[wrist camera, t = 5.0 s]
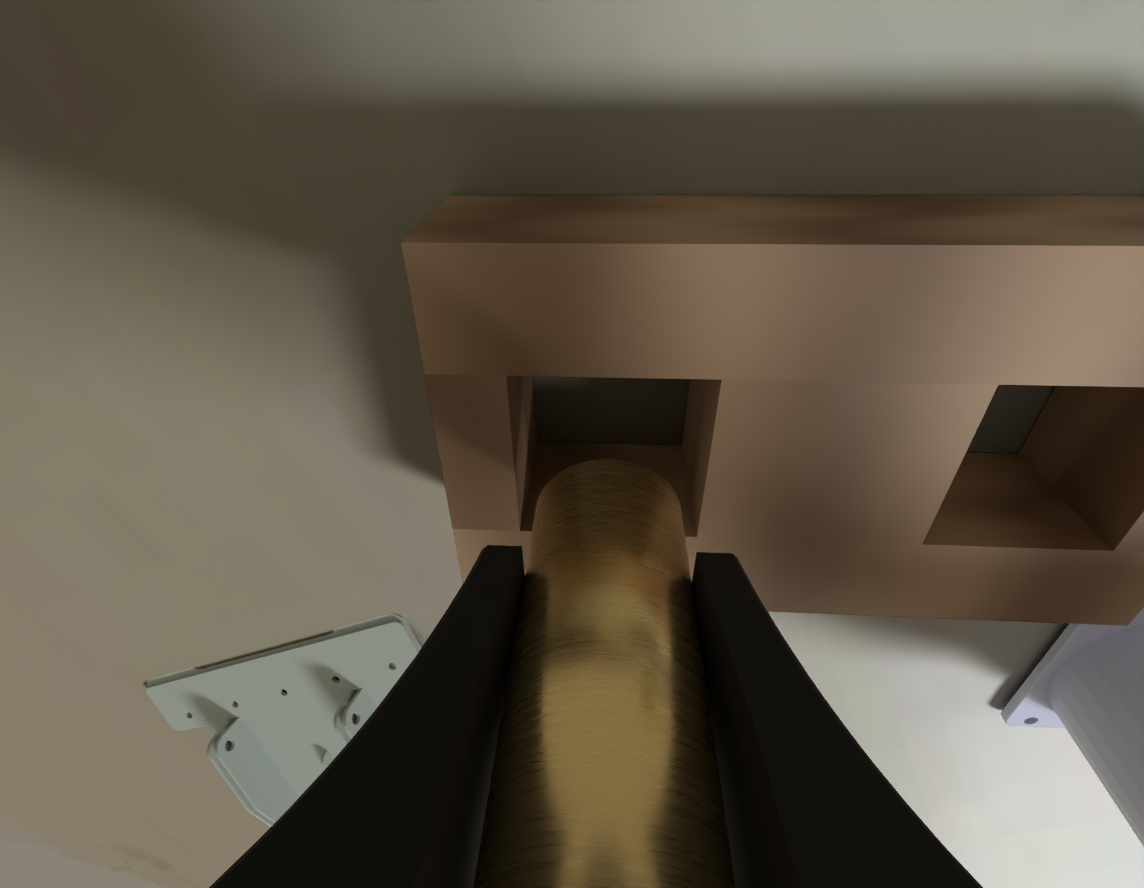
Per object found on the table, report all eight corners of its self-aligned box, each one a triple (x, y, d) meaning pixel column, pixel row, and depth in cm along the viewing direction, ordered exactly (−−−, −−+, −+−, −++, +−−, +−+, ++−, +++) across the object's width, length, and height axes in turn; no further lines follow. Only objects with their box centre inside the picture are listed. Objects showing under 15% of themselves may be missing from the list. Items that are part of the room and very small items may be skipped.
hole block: (1240, 195, 13) (1455, 247, 10) (1037, 523, 19) (1127, 625, 15) (451, 195, 14) (400, 242, 11) (490, 506, 20) (465, 599, 16)
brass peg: (688, 460, 11) (771, 931, 5) (675, 569, 13) (725, 1010, 7) (531, 457, 11) (442, 907, 5) (539, 565, 13) (479, 991, 7)
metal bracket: (518, 883, 25) (261, 909, 29) (547, 768, 30) (326, 805, 35) (363, 619, 21) (95, 693, 26) (427, 541, 27) (196, 613, 31)
